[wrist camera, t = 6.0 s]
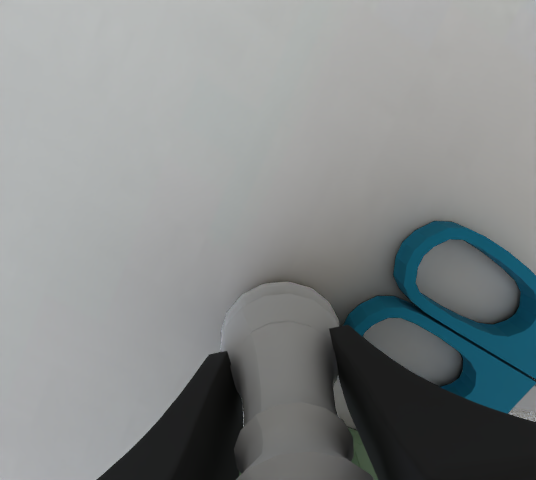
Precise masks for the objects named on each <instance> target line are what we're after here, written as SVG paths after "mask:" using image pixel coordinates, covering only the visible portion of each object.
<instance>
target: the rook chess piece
mask: <svg viewBox="0 0 536 480" xmlns="http://www.w3.org/2000/svg"><path fill="white" fill-rule="evenodd" d="M334 327H339V320H338V318H337V316H336V314H335V312H334V310H333V308H332V306H331V305H330V303H329V301H328V300H326V299H325V298H324V297H322V296H321V295H320V294H318V293H317V292H316V291H315V290H313V289H312V288H310V287H307V286H303V285H299V284H296V283H292V282H289V281H285V282H275V283H266V284H262V285H260V286H258V287H256V288H254V289H252V290H250V291H248V292H246V293H244V294H242V295H241V296H240V297H239V298H238V300H237V301H236V302H235V303H234V304H233V305H232V306H231V308H230V309H229V310H228V311H227V313H226V316H225V320H224V323H223V326H222V330H221V338H222V341H221V345H220V349H221V352H224V351H227V352H228V355H229V358H230V362H231V366H230V368H231V372H232V376H233V380H234V384H235V387H236V389H237V392H238V393H239V395H240V396H241V398H242V402H243V410H244V427H243V428H242V429H241V430H240V433H239V436H238V439H237V442H236V445H235V448H234V453H235V460H236V466H237V469H238V470H239V472H240V473H241V475H240V476H239V477H238V478H237V479H236V480H374V479H373V477H372V475H370V474H369V473H367V472H366V471H364V470H363V469H361V468H360V467H358V466H357V465H355V464H354V463H352V462H351V461H352V459H353V456H354V451H353V436H352V435H351V433H350V431H349V430H348V428H347V426H346V424H345V423H344V421H343V420H342V419H341V418H339V417H338V416H337V412H336V409H335V402H334V392H333V386H334V383H335V381H336V379H337V376H338V366H337V361H336V356H335V351H334V349H333V345H332V340H331V335H330V331H329V328H334Z"/></svg>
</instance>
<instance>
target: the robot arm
mask: <svg viewBox="0 0 536 480" xmlns="http://www.w3.org/2000/svg"><path fill="white" fill-rule="evenodd" d="M329 331H330V335H331V340H332V345H333V349H334V351H335V356H336V361H337V366H338V375H339V380H340V384H341V387H342V390H343V394H344V397H345V400H346V403H347V407H348V410H349V412H350V415H351V417H352V419H353V422H354V424H355V426H356V429H357V431H358V433H359V436H360V438H361V440H362V443H363V445H364V447H365V450H366V452H367V454H368V457H369V459H370V461H371V464H372V466H373V468H374V470H375V473H376V475H377V477H378V480H536V422H533V421H530V420H526V419H522V418H519V417H516V416H513V415H510V414H507V413H504V412H501V411H498V410H495V409H492V408H489V407H486V406H483V405H481V404H478V403H475V402H473V401H470V400H468V399H466V398H463V397H461V396H459V395H456V394H454V393H452V392H449V391H447V390H445V389H443V388H441V387H439V386H436V385H435V384H433V383H431V382H429V381H427V380H425V379H423V378H421V377H419V376H417V375H416V374H414V373H412V372H411V371H409V370H407V369H406V368H404V367H403V366H401V365H400V364H398V363H397V362H395V361H394V360H392V359H391V358H389V357H388V356H387V355H385V354H384V353H383V352H381V351H380V350H378V349H377V348H376V347H374V346H373V345H372V344H371V343H369V342H368V341H367V340H366V339H365V338H363V337H362V336H361V335H360V334H359V333H357V332H356V331H355V330H354V329H353V328H352V327H351V326H349V325H343V326H339V327H334V328H329ZM230 366H231V362H230V358H229V355H228V352H227V351H224V352H219V353H214V354H210V355H209V356H208V357H207V358H206V360H205V361H204V362H203V364H202V365H201V366H200V368H199V369H198V371H197V372H196V373H195V375H194V376H193V378H192V379H191V380H190V382H189V383H188V384H187V386H186V387H185V388H184V390H183V391H182V392H181V394H180V395H179V396H178V398H177V399H176V400H175V401H174V402H173V404H172V405H171V406H170V407H169V408H168V410H167V411H166V412H165V413H164V414H163V416H162V417H161V418H160V419H159V420H158V422H157V423H156V424H155V425H154V426H153V427H152V428H151V429H150V430H149V431H148V433H147V434H146V435H145V436H144V437H143V438H142V439H141V440H140V441H139V442H138V443H137V444H136V445H135V446H134V447H133V448H132V449H131V450H130V451H129V452H128V453H126V454H125V455H124V456H123V457H122V458H121V459H120V460H119V461H117V462H116V463H115V464H114V465H113V466H112V467H111V468H110V469H108V470H107V471H106V472H105V473H104V474H103V475H102V476H101V477H99V478H98V479H97V480H236V479H237V478H238V477H239V470H238V469H237V466H236V460H235V453H234V448H235V445H236V442H237V439H238V436H239V433H240V430H241V429H242V428H243V405H242V399H241V396H240V395H239V393H238V392H237V389H236V387H235V384H234V380H233V376H232V372H231V368H230Z"/></svg>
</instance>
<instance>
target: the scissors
mask: <svg viewBox="0 0 536 480" xmlns="http://www.w3.org/2000/svg"><path fill="white" fill-rule="evenodd" d="M449 239H455V240H464V241H466V242H467V243H469V244H471V245H472V246H474V247H475V248H477V249H478V250H480V251H481V252H483V253H484V254H485V255H487V256H488V257H489V258H490V259H492V260H493V261H494V262H495V263H497V264H498V265H499V266H500V267H502V268H503V269H504V270H505V271H506V272H507V273H508V274H509V275H510V276H511V277H512V278H513V279H514V280H515V282H516V284H517V286H518V288H519V290H520V292H521V295H520V305H519V308H518V310H517V311H516V313H515V314H514V315H513V316H512V317H510V318H509V319H508V320H505V321H502V322H499V323H496V324H484V323H478V322H475V321H473V320H470V319H468V318H465V317H463V316H461V315H459V314H457V313H455V312H453V311H451V310H449V309H447V308H445V307H443V306H441V305H439V304H438V303H436V302H434V301H433V300H431V299H430V298H428V297H427V296H425V295H423V294H422V293H420V292H419V289H418V287H417V285H416V276H417V270H418V266H419V264H420V262H421V260H422V258H423V256H424V255H425V254H426V253H428V252H429V251H430V250H431V249H432V248H433V247H435V246H437V245H439V244H441V243H443V242H445V241H447V240H449ZM393 276H394V278H395V280H396V282H397V284H398V287H399V289H400V290H401V291H402V292H403V293H404V294H405V295H406V296H407V297H408V298H409V299H410V300H411V301H412V302H413V303H414V304H416V305H417V306H418V307H419V308H418V307H417V306H415V305H413V304H412V303H410V302H407V301H405V300H402V299H400V298H398V297H395V296H376V297H374V298H372V299H370V300H368V301H366V302H363V303H361V304H359V305H358V306H357V307H356V308H355V309H354V310H353V311H352V312H351V313H350V314H348V317H347V319H346V321H345V323H344V325H349V326H351V327H352V328H353V329H354V330H355V331H356V332H357V333H359V334H360V335H361V336H362V337H363V335H364V333H365V332H366V331H367V330H368V329H369V328H370V327H371V326H373V325H374V324H376V323H378V322H380V321H382V320H385V319H387V318H402V319H405V320H407V321H410V322H412V323H415V324H417V325H419V326H420V327H422V328H424V329H426V330H427V331H429V332H431V333H433V334H434V335H436V336H438V337H439V338H441V339H442V340H443V341H445V342H446V343H448V344H449V345H450V346H452V347H453V348H455V349H456V350H457V351H459V352H460V354H461V356H462V357H463V371H462V373H461V375H460V377H459V378H458V379H457V380H456V381H454V382H453V383H451V384H448V385H445V386H441V388H443V389H445V390H447V391H449V392H452V393H454V394H456V395H459V396H461V397H463V398H466V399H468V400H470V401H473V402H475V403H478V404H481V405H483V406H486V407H489V408H492V409H495V410H498V411H501V412H504V413H507V414H508V413H509V412H510V411H511V409H512V410H521V411H531V412H536V382H535V381H534V380H533V379H532V378H531V377H533V378H535V379H536V275H535V274H534V273H533V272H532V271H531V270H530V269H529V268H527V267H526V266H525V265H524V264H523V263H521V262H520V261H519V260H518V259H517V258H515V257H514V256H513V255H512V254H511V253H509V252H508V251H506V250H505V249H503V248H502V247H500V246H499V245H497V244H496V243H494V242H493V241H491V240H490V239H488V238H487V237H485V236H483V235H481V234H479V233H477V232H474V231H472V230H470V229H468V228H466V227H463V226H461V225H459V224H456V223H454V222H447V221H433V222H431V223H429V224H427V225H425V226H423V227H421V228H419V229H417V230H415V231H414V232H413V233H412V234H411V235H410V236H409V237H407V238H406V239H405V240H404V241H403V242H402V244H401V246H400V248H399V251H398V253H397V255H396V257H395V265H394V273H393ZM527 374H528V375H530V376H531V377H530V376H528V375H527Z"/></svg>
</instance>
